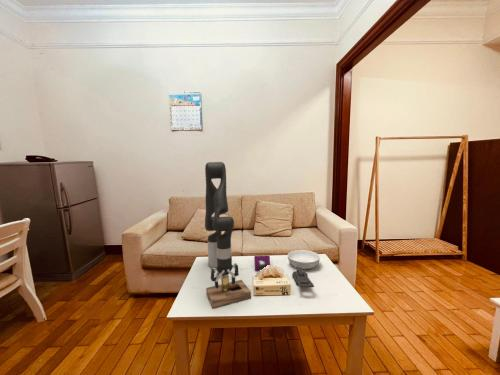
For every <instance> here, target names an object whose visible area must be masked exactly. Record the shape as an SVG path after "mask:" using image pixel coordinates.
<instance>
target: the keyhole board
mask: <svg viewBox="0 0 500 375" xmlns="http://www.w3.org/2000/svg"><path fill="white" fill-rule="evenodd" d="M205 291H206V292H205V293H206V294H205V295H206V297H207V299H208V301H209V303H210V306H211V308H212V309H213V310H214V309H218V308H220V307H223V306H228V305H231V304H235V303H239V302H243V301H246V300H249V299H252V291H251V290H250V288H249V287H248V286H247V284H245V282H244V281H243V280H242V279H239V280H235V283H234V285H233V284H232V281H229V288H228V289H227V292H223V289H222V287H221V284H218V288H216V287H215V285H213V286H209V287H206V288H205Z"/></svg>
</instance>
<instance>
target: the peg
mask: <svg viewBox="0 0 500 375" xmlns="http://www.w3.org/2000/svg"><path fill="white" fill-rule="evenodd" d="M229 277H230V276H229V274H228V275H224V276H221V277H220V280H221V282H220V285H221V287H222V289H223V292H227V289H228V288H229V282H230V281H229V280H230V279H229Z"/></svg>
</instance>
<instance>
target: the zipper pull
mask: <svg viewBox="0 0 500 375" xmlns="http://www.w3.org/2000/svg"><path fill="white" fill-rule="evenodd" d="M296 268H297V270H294V271H292V274H291V275H292V280H293V281H294V283H295V285H296V286H297V287H299V288H306V289H308V288H315V285H314V283H313V282H312V281H311V280H310V278H309V277H308V273H307V272H306V271H303V268H301V267H296Z"/></svg>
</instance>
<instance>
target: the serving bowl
mask: <svg viewBox="0 0 500 375" xmlns="http://www.w3.org/2000/svg"><path fill="white" fill-rule="evenodd" d="M287 259H288V261H289V263H290V264H291V265H292V266H293V267H295V268H298V267H301V268H302V270H303V269H307V270H308V269H313V268H315V267H316V266H317V265H318V264H319V262H320V259H321V257H320V255H319V253H317V252H316V251H311V250H307V249H297V250H296V249H295V250H291V251H290V252H289V251H288V253H287Z"/></svg>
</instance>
